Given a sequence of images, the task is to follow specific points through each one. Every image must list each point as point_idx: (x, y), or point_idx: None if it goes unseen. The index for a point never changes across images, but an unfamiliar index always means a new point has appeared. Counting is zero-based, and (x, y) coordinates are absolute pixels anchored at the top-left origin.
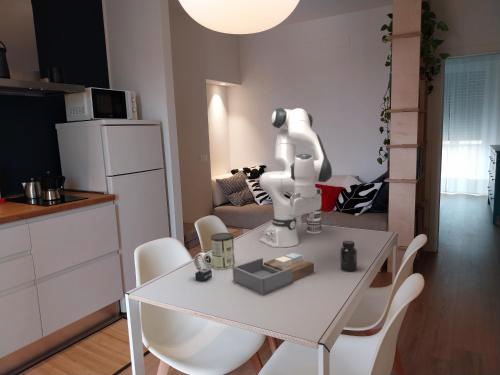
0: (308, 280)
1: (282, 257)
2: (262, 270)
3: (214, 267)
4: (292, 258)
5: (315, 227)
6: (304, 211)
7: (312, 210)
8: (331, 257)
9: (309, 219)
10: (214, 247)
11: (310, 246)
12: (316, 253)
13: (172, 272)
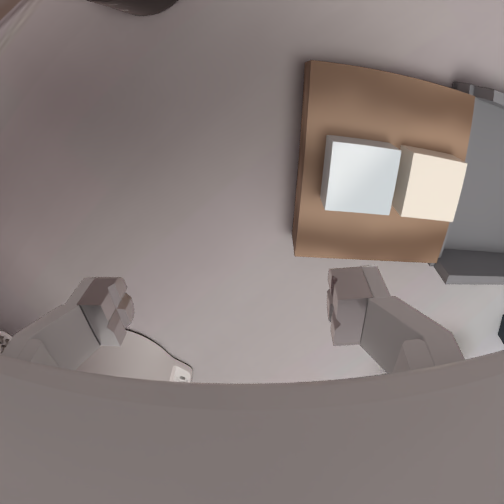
0: (398, 35)
1: (419, 208)
2: None
3: None
4: (399, 158)
5: (3, 350)
6: (368, 431)
7: (40, 380)
8: (88, 138)
9: (118, 315)
10: None
11: (75, 286)
12: (102, 219)
13: None
